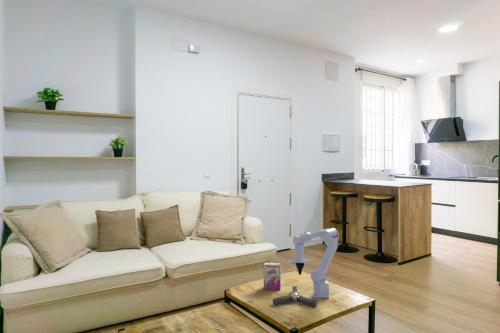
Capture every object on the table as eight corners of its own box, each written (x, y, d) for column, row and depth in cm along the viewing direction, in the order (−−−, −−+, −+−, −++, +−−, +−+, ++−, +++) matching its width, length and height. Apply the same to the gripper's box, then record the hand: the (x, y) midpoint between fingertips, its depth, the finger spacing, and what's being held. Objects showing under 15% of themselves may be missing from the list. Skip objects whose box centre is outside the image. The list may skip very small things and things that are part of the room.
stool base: (316, 299, 199) (316, 292, 199) (317, 307, 189) (317, 300, 188) (274, 297, 203) (273, 290, 203) (272, 305, 193) (272, 298, 192)
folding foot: (297, 297, 202) (297, 293, 201) (292, 297, 202) (292, 293, 202) (296, 290, 212) (296, 286, 212) (292, 290, 213) (292, 286, 213)
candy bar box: (263, 289, 217) (263, 264, 216) (264, 286, 221) (264, 262, 221) (280, 290, 214) (280, 265, 214) (281, 287, 219) (280, 262, 219)
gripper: (308, 251, 221) (308, 271, 221) (287, 252, 219) (287, 272, 220) (311, 254, 214) (311, 274, 214) (289, 255, 212) (290, 276, 213)
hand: (299, 274), depth 217 cm, fingers closed
